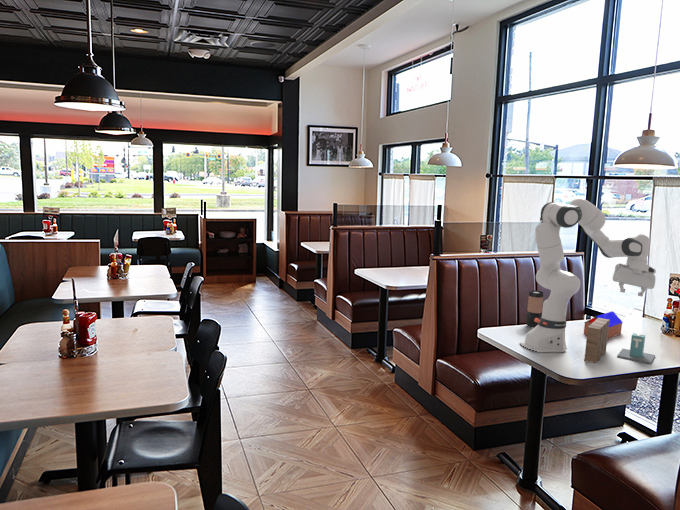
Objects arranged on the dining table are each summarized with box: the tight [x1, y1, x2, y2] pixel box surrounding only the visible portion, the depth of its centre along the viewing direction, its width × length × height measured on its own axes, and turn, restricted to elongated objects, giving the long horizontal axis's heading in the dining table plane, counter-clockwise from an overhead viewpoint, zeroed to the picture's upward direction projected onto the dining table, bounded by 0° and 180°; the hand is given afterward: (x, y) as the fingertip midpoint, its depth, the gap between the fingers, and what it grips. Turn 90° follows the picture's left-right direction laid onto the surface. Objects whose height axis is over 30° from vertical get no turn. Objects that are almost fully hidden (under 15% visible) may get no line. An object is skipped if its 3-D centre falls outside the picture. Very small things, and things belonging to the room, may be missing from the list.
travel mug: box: [526, 289, 544, 329], centre depth 294 cm, size 8×8×20 cm
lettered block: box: [629, 332, 646, 358], centre depth 248 cm, size 5×5×10 cm
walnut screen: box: [584, 318, 609, 364], centre depth 247 cm, size 22×5×16 cm, turn 142°
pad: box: [616, 348, 656, 365], centre depth 248 cm, size 14×14×1 cm
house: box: [583, 310, 624, 340], centre depth 284 cm, size 12×20×12 cm, turn 129°
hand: (631, 294), depth 257 cm, fingers open, 8 cm apart
